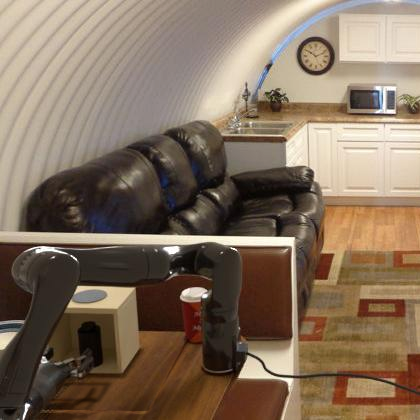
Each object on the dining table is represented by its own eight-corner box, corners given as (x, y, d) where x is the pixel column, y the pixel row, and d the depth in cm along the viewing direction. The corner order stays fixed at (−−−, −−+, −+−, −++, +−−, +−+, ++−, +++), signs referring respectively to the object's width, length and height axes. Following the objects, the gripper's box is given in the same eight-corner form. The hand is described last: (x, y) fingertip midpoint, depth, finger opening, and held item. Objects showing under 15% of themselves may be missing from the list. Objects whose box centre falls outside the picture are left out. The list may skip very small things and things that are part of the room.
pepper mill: (106, 358, 164) (103, 319, 161) (98, 368, 159) (95, 328, 156) (85, 357, 163) (82, 319, 160) (77, 368, 158) (73, 328, 155)
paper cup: (202, 346, 174) (200, 299, 170) (176, 342, 176) (174, 295, 172) (215, 333, 182) (214, 288, 178) (191, 329, 183) (189, 284, 179)
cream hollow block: (139, 350, 170) (135, 286, 165) (122, 376, 158) (117, 307, 152) (70, 349, 169) (63, 284, 164) (47, 375, 156) (39, 306, 151)
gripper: (70, 373, 132) (100, 337, 148) (-1, 372, 131) (37, 336, 147) (73, 405, 134) (103, 366, 150) (3, 404, 133) (40, 365, 149)
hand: (70, 351), depth 148 cm, fingers open, 8 cm apart
